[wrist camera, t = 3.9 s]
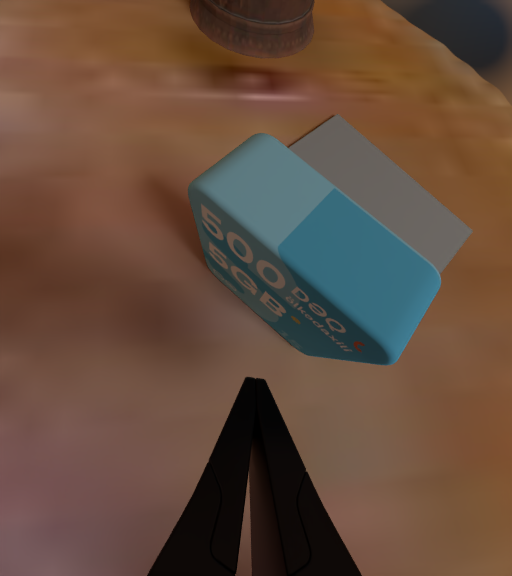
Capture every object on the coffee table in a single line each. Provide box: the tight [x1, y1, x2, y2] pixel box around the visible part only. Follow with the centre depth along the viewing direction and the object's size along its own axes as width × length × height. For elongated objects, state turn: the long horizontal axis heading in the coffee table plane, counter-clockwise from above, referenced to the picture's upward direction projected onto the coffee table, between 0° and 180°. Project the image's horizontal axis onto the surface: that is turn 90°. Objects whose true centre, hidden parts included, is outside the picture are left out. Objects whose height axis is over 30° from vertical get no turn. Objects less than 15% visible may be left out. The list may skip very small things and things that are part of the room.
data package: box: [188, 133, 441, 365], centre depth 14 cm, size 12×4×12 cm, turn 48°
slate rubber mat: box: [288, 114, 473, 274], centre depth 24 cm, size 22×20×1 cm
